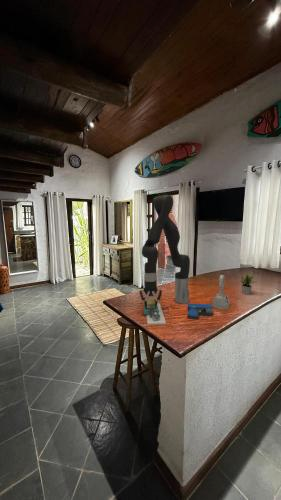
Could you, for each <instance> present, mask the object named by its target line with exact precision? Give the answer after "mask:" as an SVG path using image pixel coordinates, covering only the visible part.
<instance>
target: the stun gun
mask: <svg viewBox="0 0 281 500" xmlns="http://www.w3.org/2000/svg"><path fill="white" fill-rule="evenodd" d="M214 314H215V313H214V310H213V304H212V303H211V304H209V303H190V302H188V303H187V319H189V320H190V319H191V320H199V318H200V317H199V316H206V317H207V316H209V317H210V316H213V315H214Z"/></svg>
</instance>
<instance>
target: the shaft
mask: <svg viewBox="0 0 281 500" xmlns="http://www.w3.org/2000/svg"><path fill="white" fill-rule="evenodd" d="M149 317H150V318H151V317H152V320H153V321H158V320H160V315H159V314H158V313H157V312H156V311H155V310H153V309H150V310H149Z"/></svg>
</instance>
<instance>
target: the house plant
mask: <svg viewBox="0 0 281 500" xmlns="http://www.w3.org/2000/svg"><path fill="white" fill-rule="evenodd" d="M238 274H239V276H240V278H241V280H239V283H242V284H241V290H242V294H243V295H247V296H249V295H251V292H252V288H253V285H252V284H254V283H257V281H253V280H255V278H256V275H255V274H253V275H252V276H250V274H249V272H247V273H245V278H244V276H242V274H240V273H238Z"/></svg>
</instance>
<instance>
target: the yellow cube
mask: <svg viewBox="0 0 281 500" xmlns="http://www.w3.org/2000/svg"><path fill="white" fill-rule="evenodd" d="M147 309H155V298H154V297H148V298H147Z"/></svg>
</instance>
